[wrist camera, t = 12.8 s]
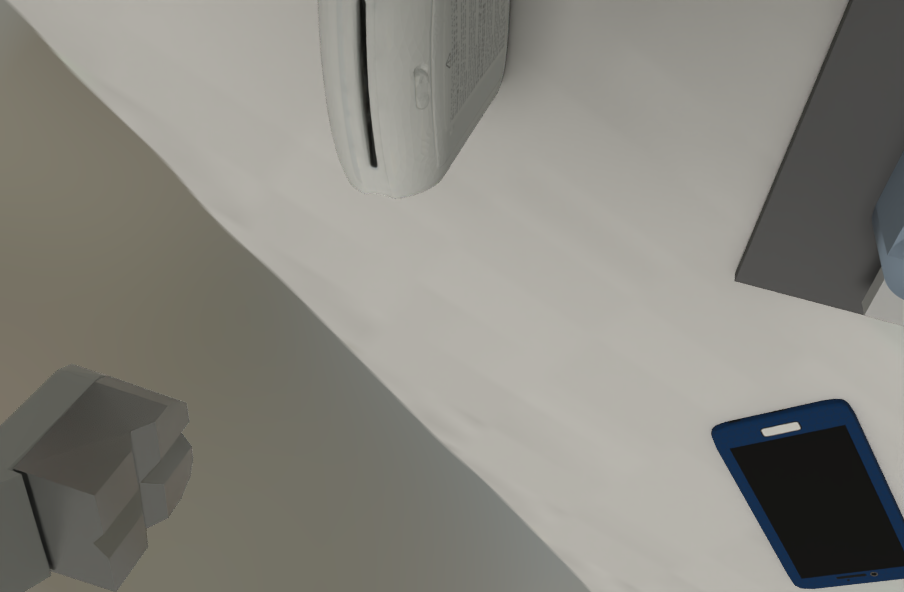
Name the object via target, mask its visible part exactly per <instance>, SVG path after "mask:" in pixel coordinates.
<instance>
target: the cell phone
mask: <svg viewBox="0 0 904 592" xmlns="http://www.w3.org/2000/svg"><path fill="white" fill-rule="evenodd" d="M711 435H712V438H713V440H714V443H715V445H716V448H717V450H718V452H719V453H720V455H721V457H722V459H723V460H724V462H725V464H726V466H727V468H728V469H729V471H730V473H731V475H732V476H733V478H734V480H735V482H736V484H737V485H738V487H739V489H740V491H741V492H742V494H743V496H744V498H745V499H746V501H747V503H748V505H749V507H750V508H751V510H752V512H753V514H754V515H755V517H756V519H757V521H758V523H759V524H760V526H761V528H762V530H763V531H764V533H765V535H766V537H767V539H768V540H769V542H770V544H771V546H772V547H773V549H774V551H775V553H776V555H777V556H778V558H779V560H780V562H781V563H782V565H783V567H784V569H785V571H786V572H787V574H788V576H789V577H790V579H791V580H792V582H793V583H794V585H795V586H797V587H799V588H804V589H816V588H825V587H834V586H843V585H852V584H861V583H869V582H878V581H887V580H896V579H904V519H903V517H902V514H901V512H900V510H899V508H898V506H897V504H896V501H895V499H894V497H893V495H892V493H891V491H890V488H889V486H888V484H887V482H886V480H885V478H884V475H883V473H882V471H881V469H880V467H879V465H878V463H877V460H876V458H875V456H874V454H873V452H872V450H871V447H870V445H869V443H868V441H867V439H866V437H865V434H864V432H863V430H862V428H861V426H860V424H859V421H858V419H857V417H856V415H855V413H854V411H853V409H852V408H851V407H850V405H849V404H848V403H847V402H846V401H845V400H842V399H831V400H824V401H819V402H814V403H810V404H805V405H801V406H796V407H791V408H787V409H782V410H778V411H773V412H769V413H764V414H760V415H755V416H751V417H746V418H742V419H737V420H733V421H728V422H724V423H721V424H719V425H716V426H715V427H714V428H713V429H712V433H711Z"/></svg>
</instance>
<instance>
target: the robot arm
mask: <svg viewBox="0 0 904 592" xmlns="http://www.w3.org/2000/svg"><path fill="white" fill-rule="evenodd" d="M188 423H189V416H188V409H187V403H186V402H183V401H180V400H177V399H174V398H171V397H168V396H165V395H163V394H160V393H157V392H154V391H151V390H148V389H145V388H142V387H139V386H136V385H134V384H131V383H128V382H125V381H122V380H120V379H117V378H114V377H111V376H108V375H105V374H102V373H99V372H95V371H92V370H90V369H87V368H84V367H81V366H77V365H74V364H70V365H68V366H65V367H63V368H61V369H58V370H57V371H56V372H55V373H54V374H53V375H52V376H51V377H50V378H49V379H47V381H45V382H44V383H43V384H42V385H41V386H40V387H39V388H38V389H37V390H36V391H35V392H34V393H33V394H32V395H31V396H30V397H29V398H28V399H27V400H26V401H25V402H24V403H23V404H22V405H21V406H20V407H19V408H18V409H17V410H16V411H15V412H14V413H13V414H12V415H11V416H10V417H9V418H8V419H7V420H6V421H5V422H4V423H3V424H2V425H1V426H0V592H25V591H26V590H28V589H30V588H31V587H33V586H35V585H36V584H38V583H40V582H41V581H43V580H45V579H46V578H48V577H50V576H51V571H53V572H56V573H59V574H62V575H65V576H68V577H71V578H74V579H77V580H80V581H83V582H86V583H90V584H93V585H96V586H98V587H101V588H105V589H108V590H111V591H114V592H116V591H117V590H118V588H119V587H120V586H121V584H122V583H123V582H124V580H125V579H126V577H127V576H128V575H129V573H130V572H131V570H132V569H133V567H134V566H135V565H136V563H137V562H138V560H139V559H140V558H141V556H142V555H143V553H144V552H145V551H146V549H147V548H148V543H147V542H148V541H147V528H149V527H150V526H153V525H155V524H157V523H159V522H161V521H163V520H165V519H167V518H169V516H170V515H171V513H172V512H173V510H174V509H175V507H176V506H177V504H178V503H179V501H180V499H181V498H182V496H183V493H184V491H185V488H186V486H187V483H188V481H189V479H190V476H191V470H192V463H193V453H192V446H191V445H190V443H189V442H188V441H187V439H186V438H185V437H184V435H183V434H182V433H181V432H182V431H183V429H184V428H185V427H186V426H187V424H188Z"/></svg>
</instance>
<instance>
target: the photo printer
mask: <svg viewBox="0 0 904 592" xmlns="http://www.w3.org/2000/svg"><path fill="white" fill-rule="evenodd" d="M509 7H510V0H318V17H319V35H320V49H321V61H322V71H323V80H324V88H325V96H326V103H327V109H328V115H329V121H330V126H331V131H332V135H333V139H334V143H335V147H336V151H337V154H338V157H339V160H340V163H341V165H342V167H343V170H344V172H345V175H346V176H347V178H348V180H349V182H350V184H351V185H352V186H353V187H354V188H355V189H357V190H358V191H360V192H362V193H364V194H381V195H385V196H388V197H391V198H394V199H396V198H403V197H408V196H412V195H416V194H419V193H421V192H424V191H426V190H428V189H430V188H432V187H433V186H435V185H436V184H438V183H439V182H440V181H441V179H442V178H443V177H444V175H445V174H446V172H447V171H448V169H449V167H450V166H451V164H452V163H453V161H454V160H455V158H456V156H457V155H458V153H459V152H460V150H461V148H462V147H463V145H464V144H465V142H466V141H467V139H468V137H469V136H470V134H471V133H472V131H473V130H474V128H475V127H476V125H477V124H478V122H479V120H480V119H481V117H482V116H483V114H484V113H485V111H486V110H487V108H488V107H489V105H490V104H491V102H492V101H493V99H494V98H495V96H496V94H497V93H498V91H499V88H500V85H501V82H502V77H503V73H504V68H505V61H506V53H507V41H508V32H509V29H508V25H509Z"/></svg>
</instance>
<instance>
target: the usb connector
mask: <svg viewBox="0 0 904 592" xmlns="http://www.w3.org/2000/svg"><path fill="white" fill-rule="evenodd" d="M872 226H873V230H874V235H875V239H876V244H877V248H878V253H879V257H880V262H881V268H880V270H879V272H878V274H877V275H876V277H875V279H874V281H873V283H872V285H871V286H870V288H869V290H868V292H867V294H866V295H865V297H864V299H863V301H862V307H863V312H864V316H867V317H871V318H875V319H879V320H882V321H886V322H890V323H894V324H898V325H901V326H904V151H903V153H902V155H901V157H900V159H899V161H898V163H897V165H896V167H895V169H894V171H893V173H892V174H891V176H890V178H889V180H888V182H887V184H886V186H885V188H884V190H883V192H882V194H881V196H880V198H879V200H878V202H877V204H876V205H875V208H874V210H873V214H872Z"/></svg>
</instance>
